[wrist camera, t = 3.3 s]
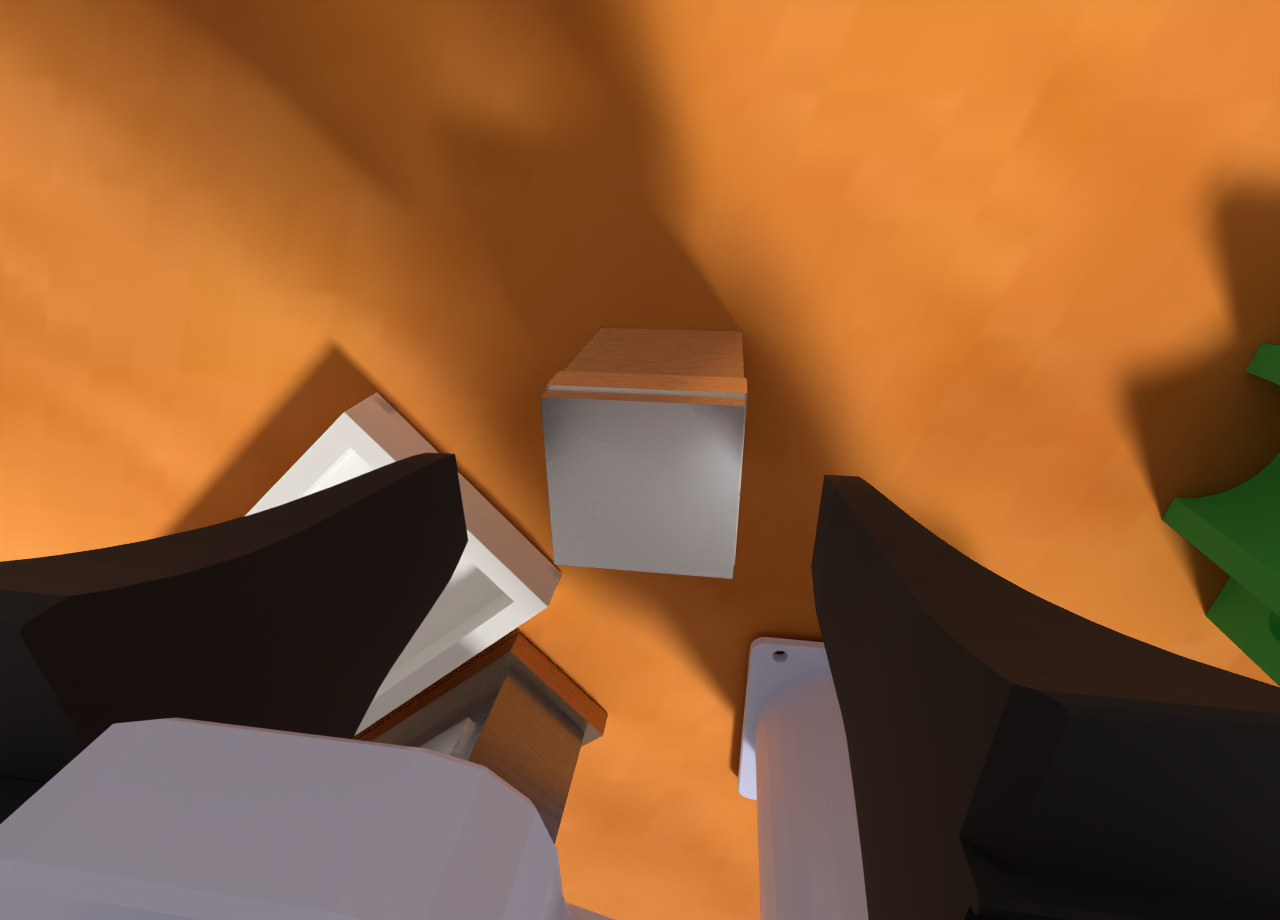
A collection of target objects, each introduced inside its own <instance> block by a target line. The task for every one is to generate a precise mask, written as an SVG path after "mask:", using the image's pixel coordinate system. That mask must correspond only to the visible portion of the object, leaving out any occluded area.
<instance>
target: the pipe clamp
mask: <svg viewBox="0 0 1280 920" xmlns="http://www.w3.org/2000/svg"><path fill="white" fill-rule="evenodd" d="M1246 372H1248V373H1251V374H1253V375H1256V376H1258V377H1261V378H1263V379H1266V380H1268V381H1271V382H1273V383H1276V384H1277V385H1279V386H1280V345H1274V344H1266V343H1261V345H1260V346H1259V348H1258V350H1257V352H1256V354H1255V355H1254V357H1253V359H1252V361H1251V362H1250V364H1249V366H1248V368H1247V369H1246ZM1162 520H1163V521H1164V522H1165V523H1166V524H1168V525H1169V526H1170V527H1171V528H1172V529H1174V530H1175V531H1176V532H1177V533H1179V534H1180V535H1181V536H1182V537H1183V538H1185V539H1186V540H1187V541H1188V542H1189V543H1191V544H1192V545H1193V546H1194V547H1196V548H1197V549H1198V550H1199V551H1200V552H1202V553H1203V554H1204V555H1205V556H1206V557H1208V558H1209V559H1210V560H1211V561H1213V562H1214V563H1215V564H1216V565H1217V566H1219V567H1220V568H1221V569H1222V570H1223V571H1225V572H1226V573H1227V574H1228V575H1230V576H1231V577H1230V578H1229V580H1228V581H1227V583H1226V584H1225V586H1224V588H1223V589H1222V591H1221V592H1220V594H1219V595H1218V597H1217V598H1216V600H1215V601H1214V603H1213V604H1212V606H1211V607H1210V609H1209V610H1208V612H1207V613H1206V615H1205V616H1206V617H1207V618H1208V619H1209V620H1210V621H1212V622H1213V623H1214V624H1215V625H1216V626H1217V627H1218V628H1219V629H1220V630H1221V631H1222V632H1223V633H1224V634H1225V635H1226V636H1227V637H1228V638H1229V639H1230V640H1231V641H1233V642H1234V643H1235V644H1236V645H1237V646H1238V647H1239V648H1240V649H1241V650H1242V651H1243V652H1244V653H1245V654H1246V655H1247V656H1248V657H1249V658H1250V659H1251V660H1253V661H1254V662H1255V663H1256V664H1257V665H1258V666H1259V667H1260V668H1261V669H1262V670H1263V671H1264V672H1265V673H1266V674H1267V675H1268V676H1269V677H1270V678H1271V679H1272V680H1274V681H1275V682H1276V683H1277V684H1278V685H1279V686H1280V452H1279V453H1278V455H1277V456H1276V457H1275V458H1274V459H1273V461H1272V462H1271V463H1270V464H1269V465H1268V466H1267V467H1265V468H1264V469H1263V470H1262V471H1261V472H1259V473H1258V474H1257V475H1256V476H1254V477H1252V478H1251V479H1249V480H1248V481H1246V482H1244V483H1243V484H1241V485H1239V486H1237V487H1234V488H1232V489H1230V490H1227V491H1225V492H1221V493H1218V494H1215V495H1210V496H1206V497H1199V498H1176V497H1174V499H1173V500H1172V502H1171V504H1170V506H1169V508H1168V509H1167V511H1166V513H1165V515H1164V516H1163V518H1162Z"/></svg>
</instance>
